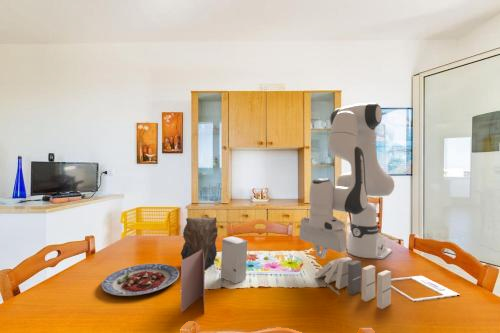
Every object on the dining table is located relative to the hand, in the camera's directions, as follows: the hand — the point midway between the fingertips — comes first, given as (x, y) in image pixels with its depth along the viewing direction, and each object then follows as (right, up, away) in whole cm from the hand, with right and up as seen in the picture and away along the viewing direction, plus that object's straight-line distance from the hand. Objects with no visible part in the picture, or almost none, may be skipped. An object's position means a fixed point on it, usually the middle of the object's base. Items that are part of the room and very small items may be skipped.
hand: (320, 257), depth 99 cm
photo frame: (+32, -9, -9) cm, 34 cm away
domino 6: (+14, -8, -20) cm, 25 cm away
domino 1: (0, -7, 0) cm, 7 cm away
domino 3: (+5, -8, -7) cm, 12 cm away
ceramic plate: (-66, -8, -5) cm, 67 cm away
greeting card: (-42, -8, -20) cm, 47 cm away
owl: (-48, -8, +10) cm, 50 cm away
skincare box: (-33, -8, -1) cm, 34 cm away
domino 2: (+3, -7, -3) cm, 8 cm away
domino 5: (+11, -8, -16) cm, 21 cm away
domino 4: (+8, -8, -12) cm, 16 cm away
